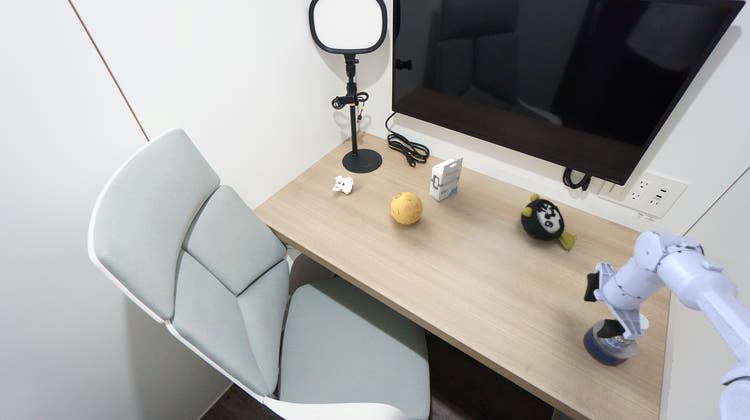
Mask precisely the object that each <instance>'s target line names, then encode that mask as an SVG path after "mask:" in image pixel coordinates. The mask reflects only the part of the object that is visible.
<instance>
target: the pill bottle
mask: <svg viewBox="0 0 750 420" xmlns="http://www.w3.org/2000/svg"><path fill="white" fill-rule="evenodd" d="M613 320H617V318H616V317H615V318H614V319H613ZM640 324H641V330H642V333H643V335H644V334H645V332H646V330H647V329H649V327H650V322H649V320H648V318H647V317H646V316H645V315H644V314H642V312H640ZM605 340H606V341H607V342H608V343H609V344H610V345H612V346H613V347H616V348H619V349H624V348H626V347H628V346H629V345H630V344H632V343H633V342H634V341H636V342H637V340H628V339H625V338H624V336H616V337H612V338H609V339H605Z"/></svg>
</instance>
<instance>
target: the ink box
mask: <svg viewBox="0 0 750 420" xmlns="http://www.w3.org/2000/svg"><path fill="white" fill-rule="evenodd" d="M463 160H464V157H460V158H457V159H456V160H455V159H454V158H449V159H448V160H445V161H442V162H441V163H439V164H435V165H434V166H432V170H431V179H430V187H429V195H430V197H432V198H433V199H435V200H436V201H437V202H441V201H442V200H445V199H446V198H449V197H450V196H452V195H454V194H456V193H457V191H458V186H459V181H460V177H461V173H462V167H463Z"/></svg>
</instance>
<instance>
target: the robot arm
mask: <svg viewBox="0 0 750 420" xmlns="http://www.w3.org/2000/svg"><path fill="white" fill-rule="evenodd" d="M594 269H595V271H596V272H595V273H594V272H590V273H589V272H588V273H587V274H586V280H587V281H586V282H587V284H586V290H585V293H584V296H583V301H584V302H586V303H587V302H589V303H596V302H602V303H604V305H605V306H606V307H607V308H608V310H609V311H610V312H611V313H612V315H613V316H614V317H615V318H617V320H614V319H611V318H604V319H603V320H604V325H603V327H602V328H601V329H600V330H599V331H598V332H597V337H598V338H605V339H609V338H612V337H616V336H624V338H625V339H628V340H636V341H639V340H640V339H642V338H643V337H644V334H643V333H642V330H641V324H640V313H641V311H640V310H641V309H640V306H641V305H642V304H643V303H645V302H646V301H647V300H649V299H650V298H651V297H652V296H653V295H655V294H656V293H658V291H660V290H661V289H662V288H664V287H665V286H667V288H668V289H669V290H670V291H671V293H672V294H673V295H674V296H675V298H677V300H678V301H679V302H680V303H681V304H682V305H683V306H684V307H686V308H687V309H690V310H693V311H696V312H702V314H703V315H704V316H705V317H706V319H707V320H708V322H709V323H710V324H711V326H712V327H713V329H714V330H715V331H716V332H717V334H718V335H719V336H720V338H721V339H722V341H723V342H724V343H725V344H726V346H727V348H729V350H730V351H731V353H732V354H733V355H734V357H735V358H736V360H737V363H735V364H734V366H732V367H731V368H730V369H728V370H727V371H726V372H725V373H724V374H723V375H722V376H721V377H720V379H719V382H720V385H722V386H725V388H724V389H723V391H722V393H721V395H720V397H719V401H718V414H719V420H750V308H749V307H748V306H746V305H745V304H744V303H743V302H742V301H740V300H739V298H737V297H738V293H739V289H738V286H737V283H736V282H735V281H734V280H733V279H732V278H730V277H729V276H728V275H727V273H725V272H723V271H724V267H723V266H722V265H721V264H720V263H719V262H715V261H711V260H710V259H708V257H706V250H705V248H704V246H703V245H702V244H701V243H699V241H697V240H696V239H695V238H693V237H688V236H684V235H683V236H682V235H677V234H670V233H665V232H659V231H651V230H650V231H649V230H647V231H643V232H642V233H640V234H639V236H638V237H637V239H636V240H635V243H634V246H633V255H632V256H631V257H630V258H629V259H628V260H627V261H626V262H625V263H624V264H623V265H622V266H621V267H620V268H619V270H618V271H616V270H615V269H614V267H613V266H612V264H611V262H603V261H602V262H601V261H600V262H598V263H597V265H596V266H595V268H594Z"/></svg>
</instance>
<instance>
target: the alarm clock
mask: <svg viewBox="0 0 750 420" xmlns="http://www.w3.org/2000/svg"><path fill="white" fill-rule="evenodd" d="M540 197H541V196H540V195H539V194H537V193H532V194H530V197H529V199H530V202H528V203H527V204H526V205H525V206H524V208H523V209H522V212H521V214H520V222H521V223H520V224H521V226H522V229H523V230H524V231H525V233H526V234H527V235H528V236H529V237H531V238H533V239H535V240H537V241H540V242H541V241H542V242H550V241H555V240H557V239H558V240H559V242H560V244H561V245H562V246H563V247H564V249H565V250H569V249H572V248H573V247H574V243H575V241H576V236H575V235H574V234H572V233H570V232H567V231H565V225H566V224H565V220H564V216H563V215H562V213H561V210H560V209H559V207H558V205H555V204H554V203H553V202H552V201H550V200H549V199H545V198H540Z"/></svg>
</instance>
